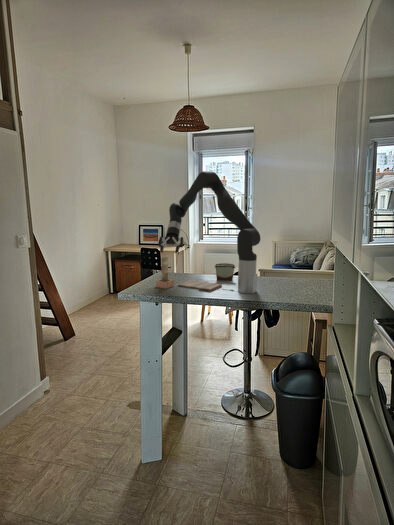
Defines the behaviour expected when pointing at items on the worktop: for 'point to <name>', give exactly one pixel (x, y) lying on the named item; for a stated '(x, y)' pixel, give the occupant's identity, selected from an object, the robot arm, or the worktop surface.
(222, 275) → the food container
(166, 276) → the birch dowel
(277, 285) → the worktop surface
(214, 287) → the walnut board
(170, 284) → the terracotta cup
